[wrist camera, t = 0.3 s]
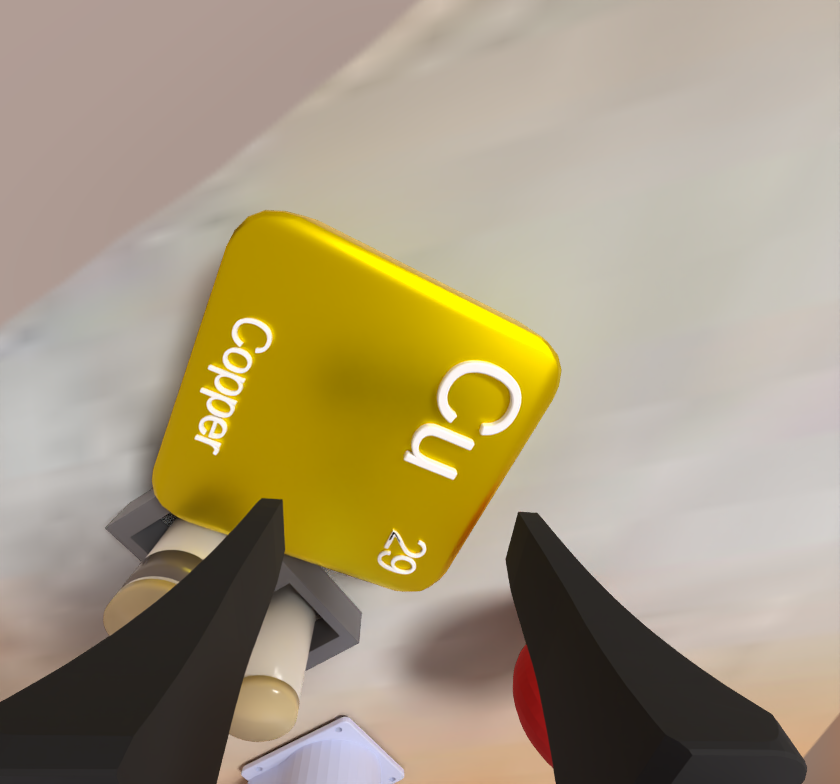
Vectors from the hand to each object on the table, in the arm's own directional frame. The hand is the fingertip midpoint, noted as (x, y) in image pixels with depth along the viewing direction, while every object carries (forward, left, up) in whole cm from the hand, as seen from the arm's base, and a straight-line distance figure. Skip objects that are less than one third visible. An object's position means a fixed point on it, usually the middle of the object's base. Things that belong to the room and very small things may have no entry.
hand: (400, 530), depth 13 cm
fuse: (-13, -7, -10) cm, 18 cm away
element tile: (-2, +1, -11) cm, 11 cm away
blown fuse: (-13, 0, -10) cm, 16 cm away
